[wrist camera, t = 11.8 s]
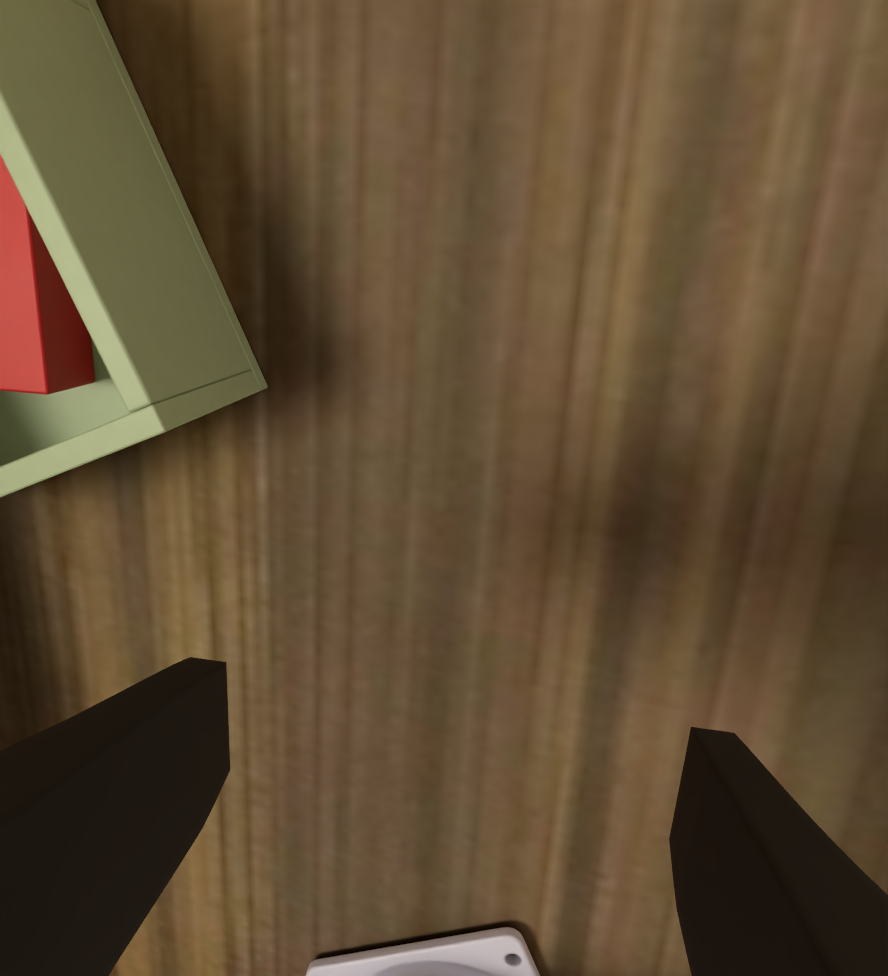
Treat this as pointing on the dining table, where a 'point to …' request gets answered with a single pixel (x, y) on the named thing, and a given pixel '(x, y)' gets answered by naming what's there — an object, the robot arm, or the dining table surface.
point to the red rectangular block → (36, 308)
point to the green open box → (107, 250)
